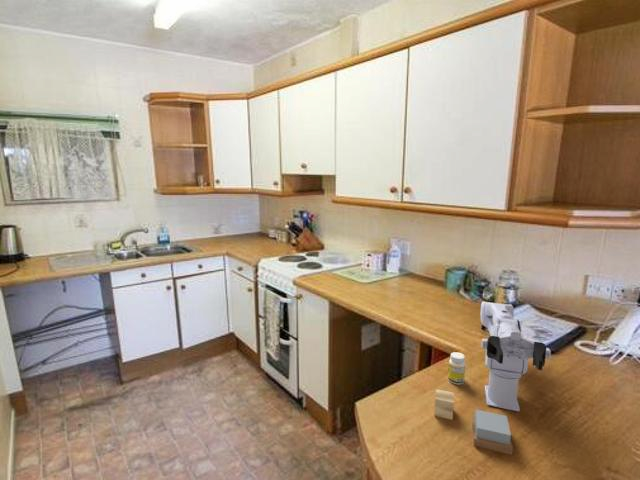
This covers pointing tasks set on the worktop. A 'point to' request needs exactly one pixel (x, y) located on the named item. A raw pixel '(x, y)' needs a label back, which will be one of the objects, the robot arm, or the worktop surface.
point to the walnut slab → (491, 443)
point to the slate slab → (492, 427)
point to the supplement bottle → (456, 368)
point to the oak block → (444, 404)
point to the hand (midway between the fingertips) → (520, 362)
